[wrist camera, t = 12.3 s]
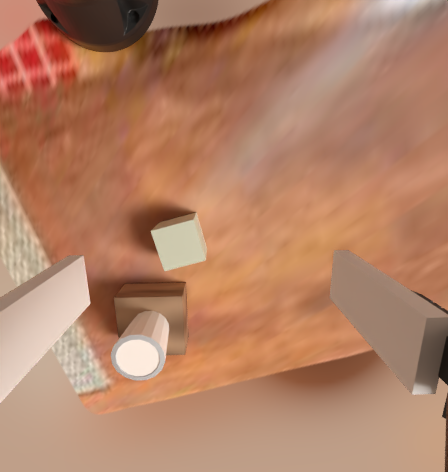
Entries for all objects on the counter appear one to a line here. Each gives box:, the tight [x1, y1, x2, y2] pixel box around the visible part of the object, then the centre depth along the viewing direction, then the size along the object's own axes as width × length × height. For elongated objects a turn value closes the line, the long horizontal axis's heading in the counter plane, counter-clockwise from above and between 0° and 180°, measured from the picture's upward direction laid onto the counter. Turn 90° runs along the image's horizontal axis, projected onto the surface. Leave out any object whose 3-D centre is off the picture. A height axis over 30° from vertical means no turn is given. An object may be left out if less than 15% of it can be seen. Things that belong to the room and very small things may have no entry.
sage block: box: [151, 213, 207, 271], centre depth 41 cm, size 6×6×6 cm
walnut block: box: [114, 282, 189, 355], centre depth 44 cm, size 10×10×5 cm
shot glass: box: [111, 311, 169, 380], centre depth 38 cm, size 7×7×7 cm
